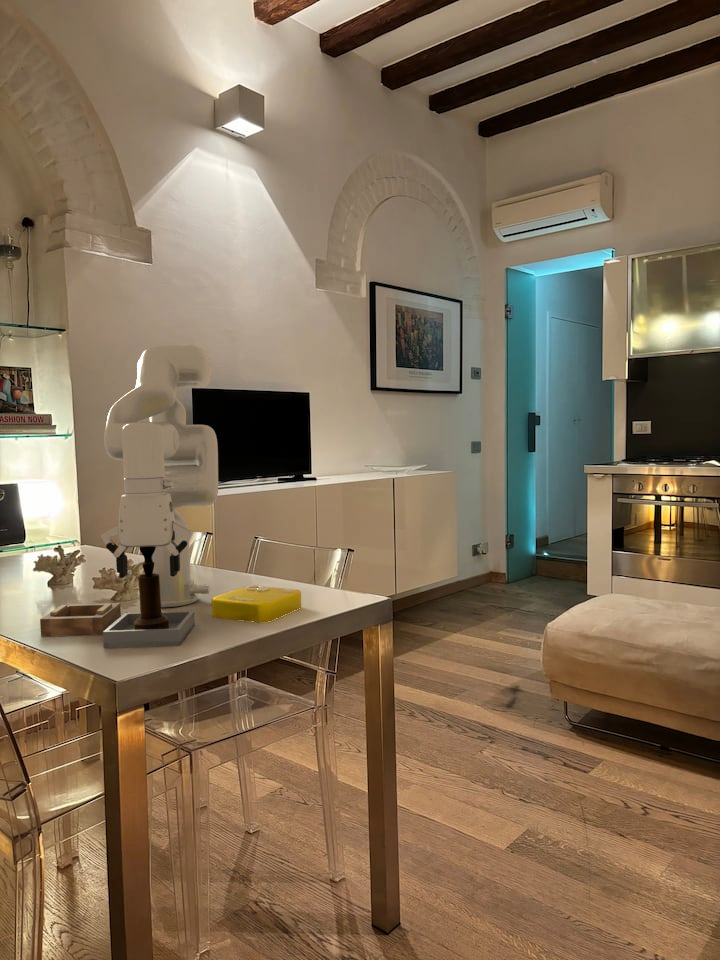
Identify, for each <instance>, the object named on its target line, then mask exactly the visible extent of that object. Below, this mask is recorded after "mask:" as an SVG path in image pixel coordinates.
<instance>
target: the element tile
mask: <svg viewBox="0 0 720 960" xmlns="http://www.w3.org/2000/svg"><path fill="white" fill-rule="evenodd" d="M299 608H301V609H302V591H301V590H300V589H293V588H291V589H290V588H282V587H281V588H280V587H273V586H272V587H271V586H262V585H259V584H251V585H246V586H244V587H241V588H237V589H234V590H231V591H228V592H225V593H222V594H217V595H216V596H213V597H212V598H211V617H212V618H215V619H223V620H224V619H225V620H230V619H232V620H231V621H238V620H244V621H243V622H246V621H254V622H253V623H255V622H268V621H272V620H274V619H276V618H279V617H281V616H283V615H285V614H288V613H290V612H292V611H294V610H297V609H299ZM288 615H289V614H288ZM281 618H282V617H281ZM279 619H280V618H279ZM276 620H277V619H276ZM274 621H275V620H274ZM272 622H273V621H272ZM268 623H269V622H268Z"/></svg>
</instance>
